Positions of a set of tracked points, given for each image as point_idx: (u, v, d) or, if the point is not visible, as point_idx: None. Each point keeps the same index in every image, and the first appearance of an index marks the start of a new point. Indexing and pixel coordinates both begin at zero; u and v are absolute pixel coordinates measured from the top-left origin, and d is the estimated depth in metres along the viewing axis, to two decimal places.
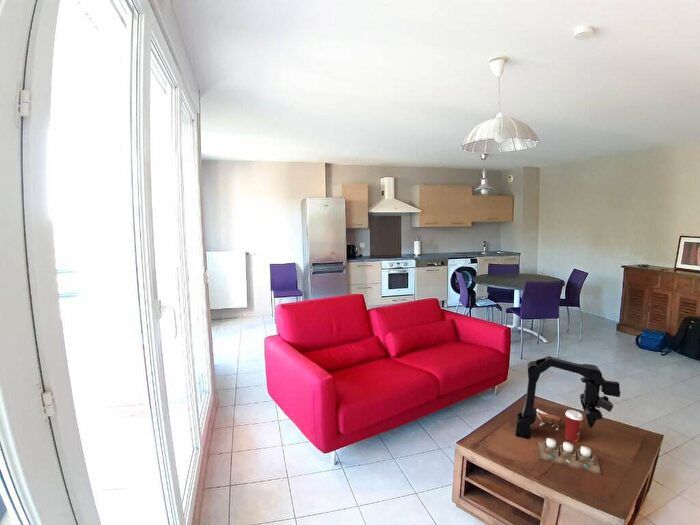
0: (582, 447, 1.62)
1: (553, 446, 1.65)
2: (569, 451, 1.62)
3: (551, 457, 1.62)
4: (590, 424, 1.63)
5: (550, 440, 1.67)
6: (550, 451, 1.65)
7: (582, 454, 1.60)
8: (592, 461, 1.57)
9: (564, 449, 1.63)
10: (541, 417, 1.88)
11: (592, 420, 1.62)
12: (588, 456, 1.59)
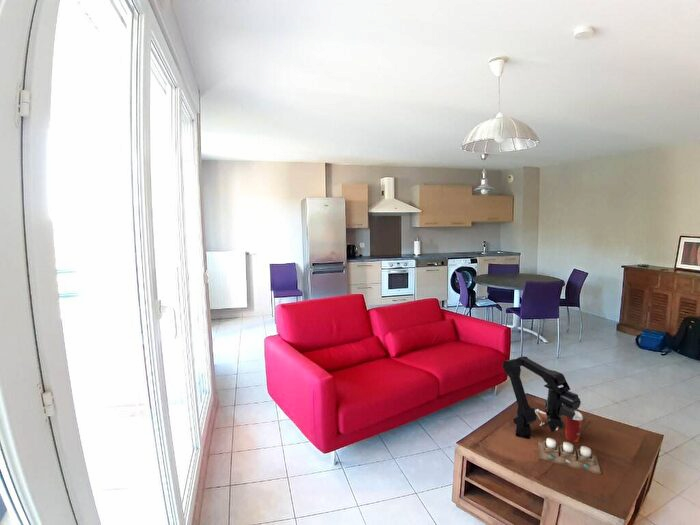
0: (582, 447, 1.62)
1: (553, 446, 1.65)
2: (569, 451, 1.62)
3: (551, 457, 1.62)
4: (552, 428, 1.64)
5: (550, 440, 1.67)
6: (550, 451, 1.65)
7: (582, 454, 1.60)
8: (592, 461, 1.57)
9: (564, 449, 1.63)
10: (541, 417, 1.88)
11: None
12: (588, 456, 1.59)
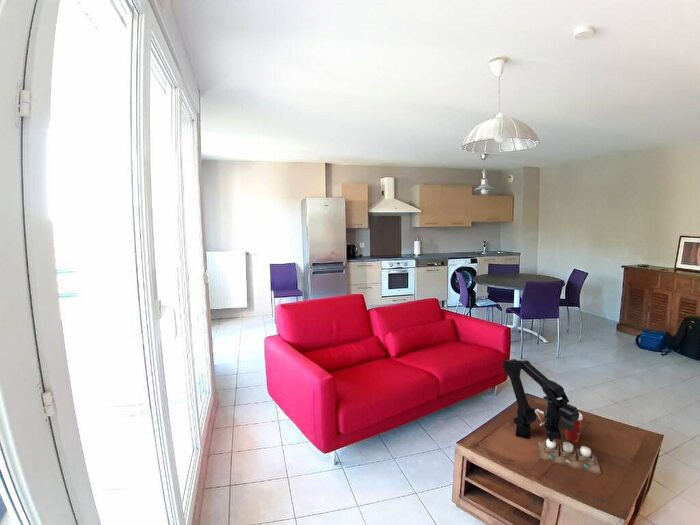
0: (582, 447, 1.62)
1: (553, 447, 1.65)
2: (569, 451, 1.62)
3: (551, 457, 1.62)
4: (550, 438, 1.66)
5: None
6: (550, 451, 1.65)
7: (582, 454, 1.60)
8: (592, 461, 1.57)
9: (564, 449, 1.63)
10: (541, 417, 1.88)
11: None
12: (588, 456, 1.59)
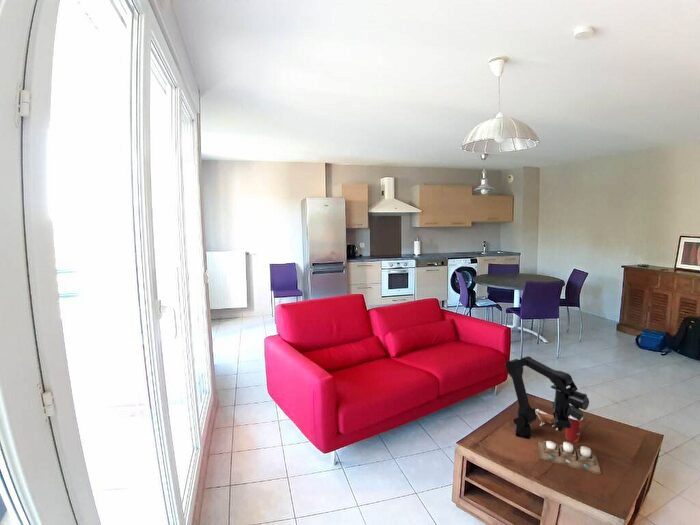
0: (582, 447, 1.62)
1: None
2: (569, 451, 1.62)
3: (551, 457, 1.62)
4: (559, 428, 1.63)
5: (549, 443, 1.67)
6: (550, 451, 1.65)
7: (582, 454, 1.60)
8: (592, 461, 1.57)
9: (564, 449, 1.63)
10: (541, 417, 1.88)
11: None
12: (588, 456, 1.59)
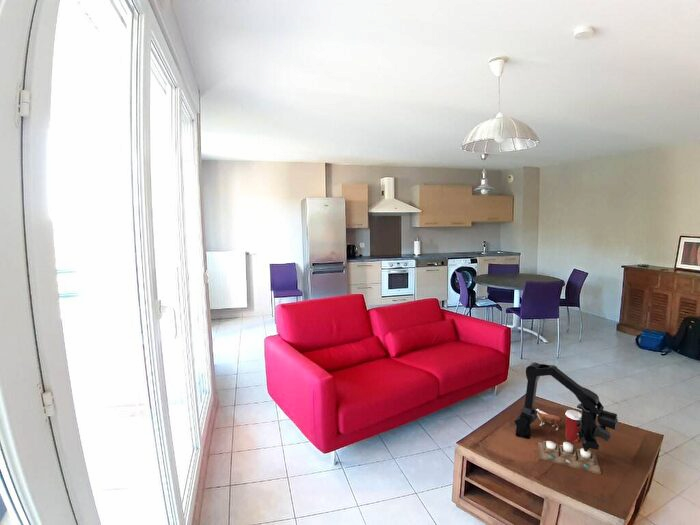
0: (582, 449, 1.62)
1: None
2: (569, 451, 1.62)
3: (551, 457, 1.62)
4: (585, 448, 1.60)
5: (549, 443, 1.67)
6: (550, 451, 1.65)
7: (582, 456, 1.60)
8: (592, 461, 1.57)
9: (564, 449, 1.63)
10: (541, 417, 1.88)
11: None
12: None
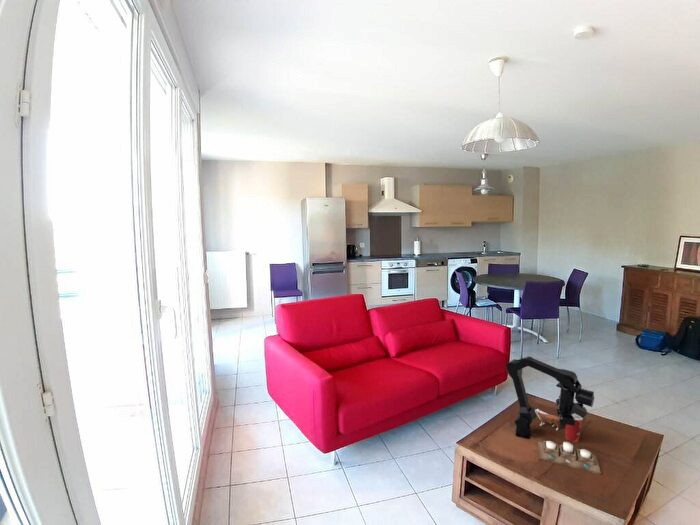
0: (582, 450, 1.62)
1: None
2: (569, 451, 1.62)
3: (551, 457, 1.62)
4: (562, 425, 1.66)
5: (549, 443, 1.67)
6: (550, 451, 1.65)
7: None
8: (592, 461, 1.57)
9: (564, 449, 1.63)
10: (541, 417, 1.88)
11: None
12: None
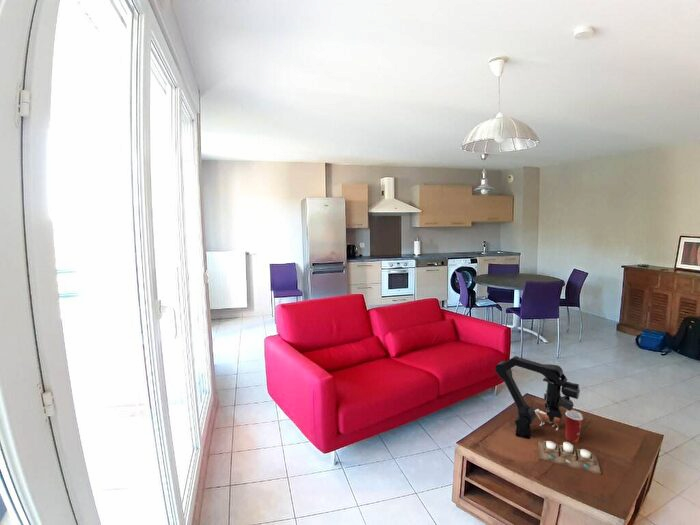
0: (582, 450, 1.62)
1: None
2: (569, 451, 1.62)
3: (551, 457, 1.62)
4: (550, 418, 1.70)
5: (549, 443, 1.67)
6: (550, 451, 1.65)
7: None
8: (592, 461, 1.57)
9: (564, 449, 1.63)
10: (541, 417, 1.88)
11: None
12: None
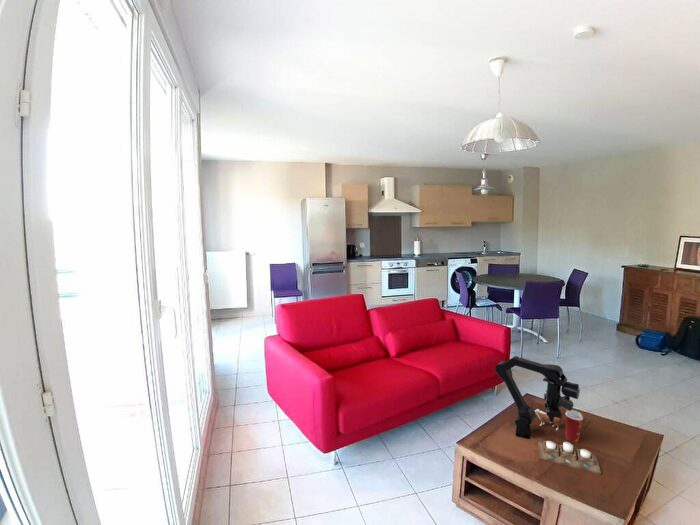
0: (582, 450, 1.62)
1: None
2: (569, 451, 1.62)
3: (551, 457, 1.62)
4: (550, 418, 1.70)
5: (549, 443, 1.67)
6: (550, 451, 1.65)
7: None
8: (592, 461, 1.57)
9: (564, 449, 1.63)
10: (541, 417, 1.88)
11: None
12: None
